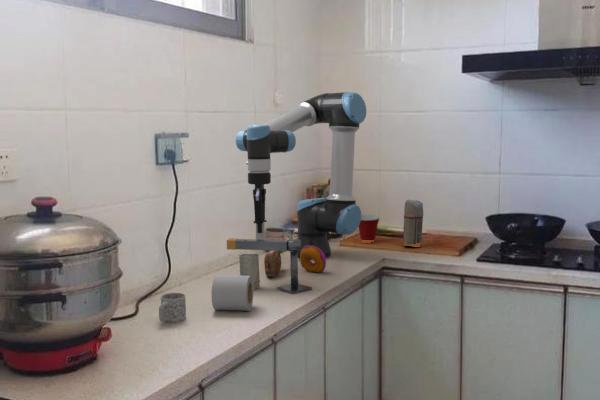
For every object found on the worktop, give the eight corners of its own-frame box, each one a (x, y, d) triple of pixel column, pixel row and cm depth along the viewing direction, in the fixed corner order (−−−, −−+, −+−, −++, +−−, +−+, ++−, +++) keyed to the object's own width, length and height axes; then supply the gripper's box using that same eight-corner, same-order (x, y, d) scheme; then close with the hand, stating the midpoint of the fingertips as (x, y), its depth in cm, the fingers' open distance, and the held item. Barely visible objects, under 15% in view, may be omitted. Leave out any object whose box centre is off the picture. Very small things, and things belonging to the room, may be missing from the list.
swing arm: (302, 249, 207) (301, 239, 207) (299, 252, 203) (299, 241, 202) (230, 247, 212) (230, 237, 212) (226, 249, 208) (226, 239, 207)
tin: (272, 279, 220) (271, 255, 219) (263, 279, 221) (262, 255, 220) (282, 269, 235) (281, 247, 234) (273, 269, 235) (273, 246, 234)
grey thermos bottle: (411, 243, 280) (411, 198, 277) (426, 246, 273) (426, 200, 271) (398, 246, 274) (398, 200, 272) (413, 249, 268) (414, 202, 266)
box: (260, 287, 210) (259, 254, 209) (252, 290, 207) (251, 256, 205) (247, 285, 213) (247, 252, 212) (239, 287, 210) (238, 254, 208)
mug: (170, 314, 182) (169, 291, 181) (190, 317, 180) (189, 294, 179) (149, 325, 173) (148, 301, 172) (170, 327, 170) (170, 303, 169)
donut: (317, 268, 235) (317, 242, 234) (328, 274, 227) (328, 246, 226) (297, 270, 232) (297, 243, 231) (307, 276, 224) (307, 248, 223)
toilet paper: (212, 314, 182) (211, 279, 181) (221, 304, 192) (220, 271, 191) (246, 315, 181) (245, 280, 179) (253, 304, 191) (253, 272, 189)
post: (295, 284, 213) (295, 248, 211) (311, 289, 207) (311, 251, 205) (277, 289, 207) (276, 251, 206) (293, 294, 201) (292, 255, 200)
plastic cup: (352, 244, 280) (352, 217, 279) (358, 239, 290) (358, 213, 289) (377, 245, 277) (377, 218, 275) (382, 241, 287) (382, 214, 285)
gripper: (250, 170, 218) (252, 238, 221) (244, 173, 205) (246, 245, 208) (272, 170, 217) (273, 238, 220) (268, 173, 205) (269, 245, 207)
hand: (260, 242), depth 214 cm, fingers closed
